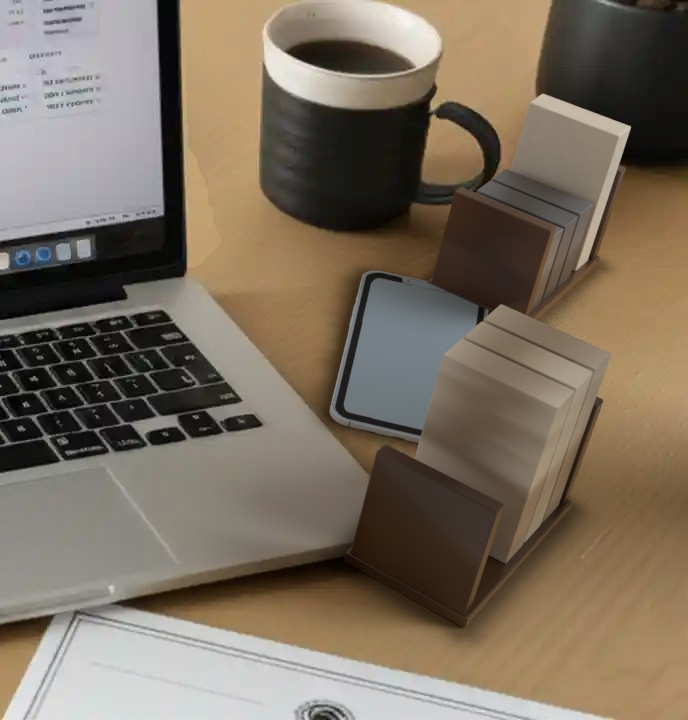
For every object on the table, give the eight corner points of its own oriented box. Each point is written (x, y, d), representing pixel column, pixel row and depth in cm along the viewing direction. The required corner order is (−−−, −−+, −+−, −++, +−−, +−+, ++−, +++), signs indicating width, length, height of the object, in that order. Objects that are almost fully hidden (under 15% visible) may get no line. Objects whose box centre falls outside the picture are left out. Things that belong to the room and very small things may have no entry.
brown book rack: (569, 509, 80) (627, 348, 75) (464, 628, 73) (519, 459, 67) (455, 452, 83) (502, 293, 78) (342, 561, 76) (386, 393, 70)
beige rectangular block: (587, 261, 99) (631, 126, 94) (575, 272, 98) (619, 136, 92) (504, 226, 101) (542, 92, 96) (491, 236, 100) (529, 102, 95)
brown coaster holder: (597, 265, 100) (629, 168, 96) (523, 333, 93) (554, 232, 89) (504, 225, 103) (531, 130, 99) (425, 289, 96) (451, 189, 92)
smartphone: (327, 416, 84) (363, 267, 96) (324, 429, 85) (360, 279, 97) (472, 450, 83) (491, 294, 95) (468, 463, 84) (487, 306, 95)
